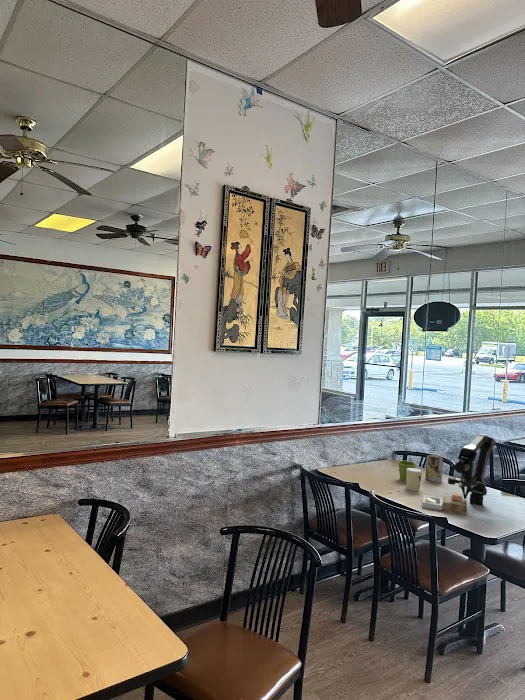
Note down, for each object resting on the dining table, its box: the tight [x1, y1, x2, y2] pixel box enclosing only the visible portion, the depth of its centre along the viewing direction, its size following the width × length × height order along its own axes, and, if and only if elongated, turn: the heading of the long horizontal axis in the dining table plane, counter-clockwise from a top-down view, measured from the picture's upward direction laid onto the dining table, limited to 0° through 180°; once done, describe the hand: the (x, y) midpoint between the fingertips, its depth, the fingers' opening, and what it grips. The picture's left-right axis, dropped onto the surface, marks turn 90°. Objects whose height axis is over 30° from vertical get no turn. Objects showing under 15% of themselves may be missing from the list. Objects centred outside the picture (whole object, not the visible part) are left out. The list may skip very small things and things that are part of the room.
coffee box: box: [424, 454, 444, 483], centre depth 326 cm, size 9×6×16 cm
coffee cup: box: [405, 468, 423, 492], centre depth 302 cm, size 9×9×12 cm
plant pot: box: [397, 460, 417, 482], centre depth 322 cm, size 12×12×11 cm
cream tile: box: [425, 497, 436, 504], centre depth 271 cm, size 5×5×2 cm
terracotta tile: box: [451, 492, 463, 501], centre depth 271 cm, size 5×5×2 cm
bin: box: [421, 494, 443, 512], centre depth 273 cm, size 10×14×3 cm
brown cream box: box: [441, 494, 468, 516], centre depth 269 cm, size 12×14×5 cm
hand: (464, 498), depth 270 cm, fingers closed
